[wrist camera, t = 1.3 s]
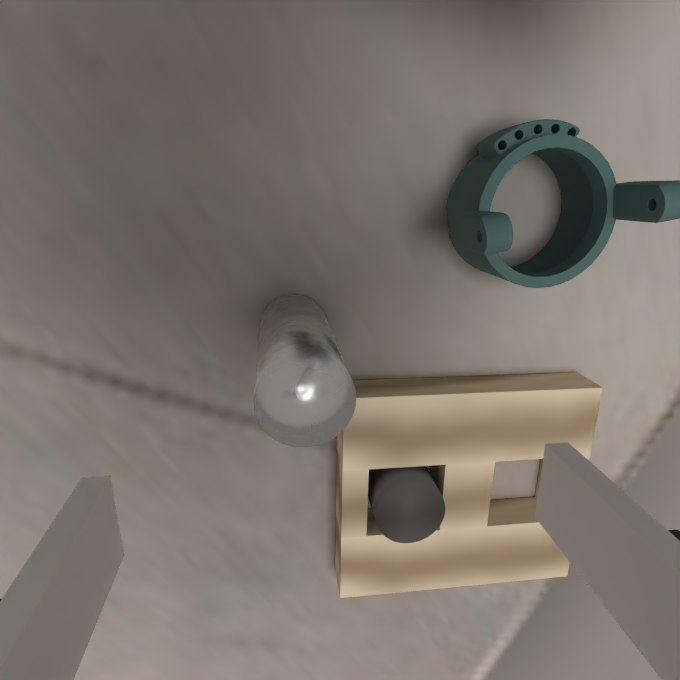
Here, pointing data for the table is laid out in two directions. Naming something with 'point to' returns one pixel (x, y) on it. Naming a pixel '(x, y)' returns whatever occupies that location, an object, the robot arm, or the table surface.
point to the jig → (450, 479)
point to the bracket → (576, 207)
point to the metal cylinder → (301, 375)
